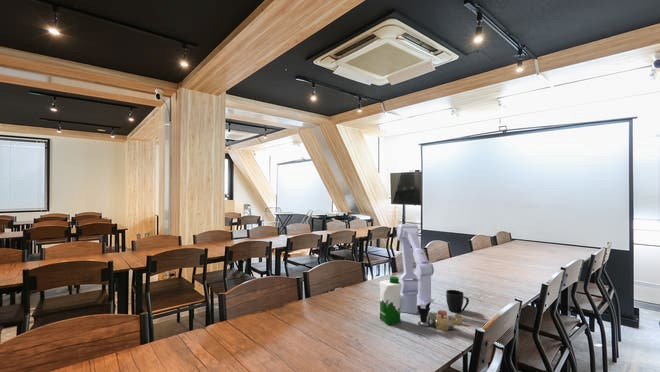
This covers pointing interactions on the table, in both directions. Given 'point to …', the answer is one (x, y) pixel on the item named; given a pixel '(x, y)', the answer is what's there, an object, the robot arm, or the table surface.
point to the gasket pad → (423, 325)
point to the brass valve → (442, 321)
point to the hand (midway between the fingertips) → (424, 319)
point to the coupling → (426, 321)
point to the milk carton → (390, 301)
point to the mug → (456, 301)
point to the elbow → (457, 320)
